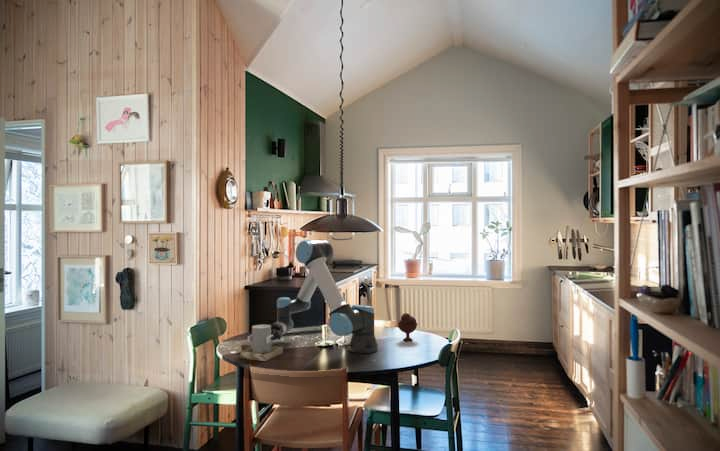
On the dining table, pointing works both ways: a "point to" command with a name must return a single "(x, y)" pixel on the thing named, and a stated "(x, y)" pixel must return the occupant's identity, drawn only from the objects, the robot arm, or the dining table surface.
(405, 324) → the ice cream bowl
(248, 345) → the walnut block
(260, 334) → the speckled tin can
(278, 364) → the dining table surface
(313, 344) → the dining table surface
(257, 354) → the oak tray
